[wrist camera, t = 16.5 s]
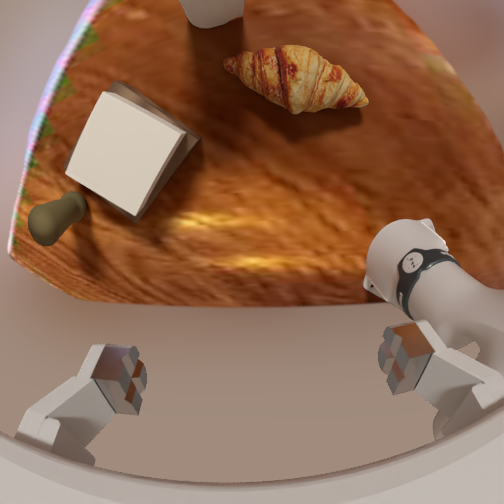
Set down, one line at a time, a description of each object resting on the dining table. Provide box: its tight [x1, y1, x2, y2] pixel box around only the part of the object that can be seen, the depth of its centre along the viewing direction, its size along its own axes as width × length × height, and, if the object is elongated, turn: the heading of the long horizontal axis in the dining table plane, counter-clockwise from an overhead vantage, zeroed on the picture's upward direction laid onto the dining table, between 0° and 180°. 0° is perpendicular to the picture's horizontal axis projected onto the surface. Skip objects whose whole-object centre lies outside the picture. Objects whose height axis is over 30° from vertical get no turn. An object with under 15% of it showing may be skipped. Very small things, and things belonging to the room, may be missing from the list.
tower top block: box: [65, 91, 186, 216], centre depth 33 cm, size 12×12×4 cm
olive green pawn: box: [28, 192, 87, 246], centre depth 37 cm, size 6×6×11 cm
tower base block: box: [63, 80, 201, 224], centre depth 37 cm, size 15×15×5 cm
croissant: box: [223, 45, 369, 114], centre depth 33 cm, size 21×10×8 cm
